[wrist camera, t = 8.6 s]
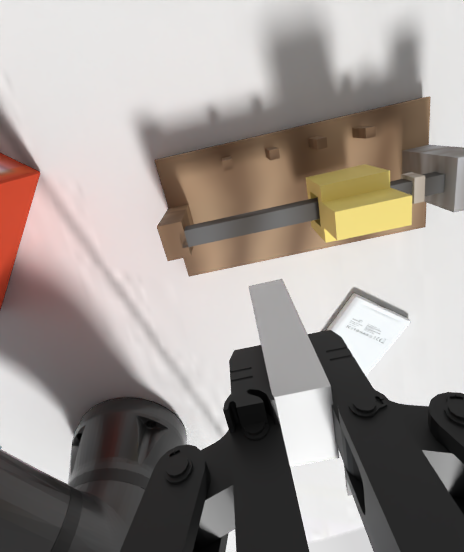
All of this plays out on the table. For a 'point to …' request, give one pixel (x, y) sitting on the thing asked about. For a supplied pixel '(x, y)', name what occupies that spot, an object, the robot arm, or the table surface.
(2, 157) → the file binder
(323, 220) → the sleeve
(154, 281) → the table surface
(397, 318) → the external hard drive
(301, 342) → the robot arm
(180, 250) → the comb stand
